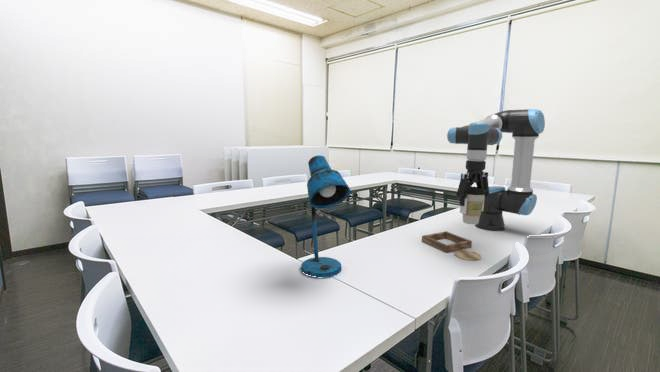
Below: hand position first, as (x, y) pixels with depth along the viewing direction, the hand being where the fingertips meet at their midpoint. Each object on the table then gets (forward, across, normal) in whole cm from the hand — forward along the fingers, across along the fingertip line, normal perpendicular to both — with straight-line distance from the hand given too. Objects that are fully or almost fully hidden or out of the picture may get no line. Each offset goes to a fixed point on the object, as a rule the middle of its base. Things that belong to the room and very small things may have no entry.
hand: (471, 211), depth 138 cm
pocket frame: (+20, -2, -14) cm, 25 cm away
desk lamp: (+20, +64, -14) cm, 68 cm away
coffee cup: (+5, 0, 0) cm, 5 cm away
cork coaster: (+20, 0, 0) cm, 20 cm away
